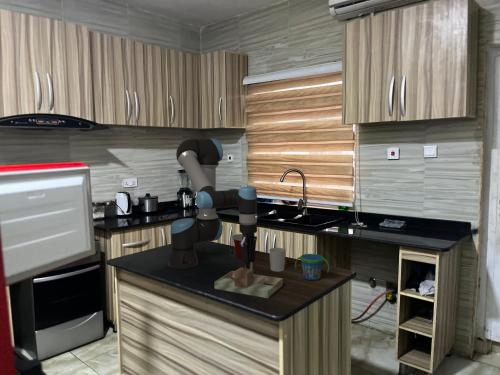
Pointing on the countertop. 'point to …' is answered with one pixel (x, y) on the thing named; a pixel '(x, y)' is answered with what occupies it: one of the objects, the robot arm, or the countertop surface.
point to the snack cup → (311, 265)
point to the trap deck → (254, 289)
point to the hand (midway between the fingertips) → (249, 276)
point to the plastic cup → (238, 239)
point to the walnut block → (243, 277)
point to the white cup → (277, 259)
